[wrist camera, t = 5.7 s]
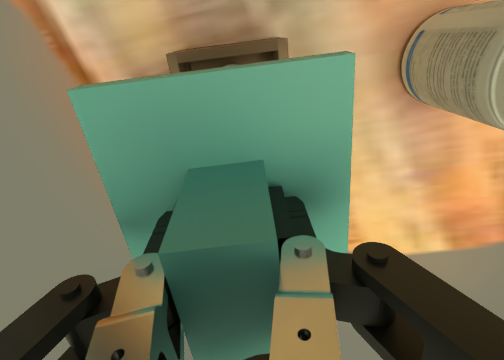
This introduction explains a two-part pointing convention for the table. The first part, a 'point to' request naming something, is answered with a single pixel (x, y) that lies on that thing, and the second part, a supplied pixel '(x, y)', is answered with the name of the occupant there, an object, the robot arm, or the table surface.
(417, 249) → the table surface
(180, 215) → the lid
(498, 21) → the supplement tub
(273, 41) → the crate
